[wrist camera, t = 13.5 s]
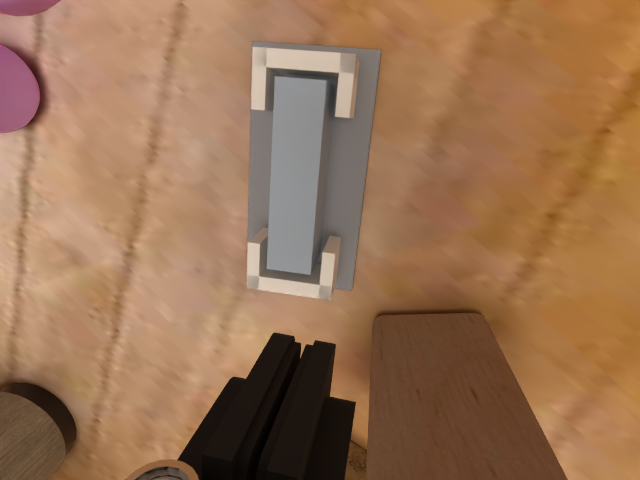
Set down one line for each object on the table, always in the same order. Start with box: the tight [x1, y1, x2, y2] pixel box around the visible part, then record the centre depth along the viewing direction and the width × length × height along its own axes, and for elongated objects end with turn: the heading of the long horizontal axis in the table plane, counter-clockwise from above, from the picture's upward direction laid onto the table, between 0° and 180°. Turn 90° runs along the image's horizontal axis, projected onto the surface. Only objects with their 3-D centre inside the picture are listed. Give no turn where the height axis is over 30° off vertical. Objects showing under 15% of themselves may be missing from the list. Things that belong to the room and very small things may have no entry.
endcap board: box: [247, 41, 381, 300], centre depth 30 cm, size 10×20×5 cm, turn 175°
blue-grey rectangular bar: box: [267, 76, 335, 275], centre depth 30 cm, size 14×4×5 cm, turn 175°
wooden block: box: [366, 313, 568, 480], centre depth 27 cm, size 10×10×20 cm
